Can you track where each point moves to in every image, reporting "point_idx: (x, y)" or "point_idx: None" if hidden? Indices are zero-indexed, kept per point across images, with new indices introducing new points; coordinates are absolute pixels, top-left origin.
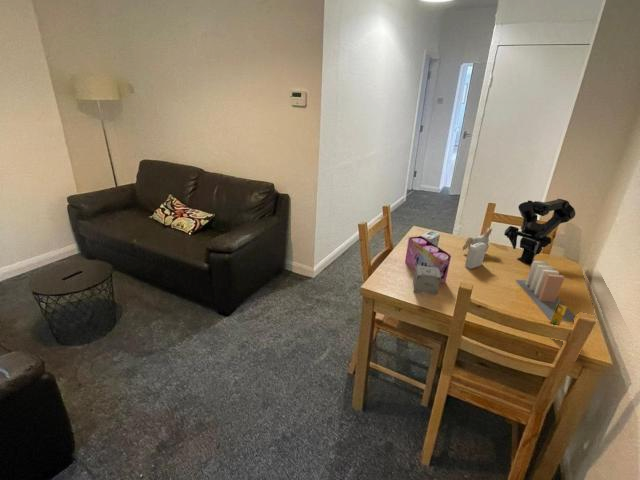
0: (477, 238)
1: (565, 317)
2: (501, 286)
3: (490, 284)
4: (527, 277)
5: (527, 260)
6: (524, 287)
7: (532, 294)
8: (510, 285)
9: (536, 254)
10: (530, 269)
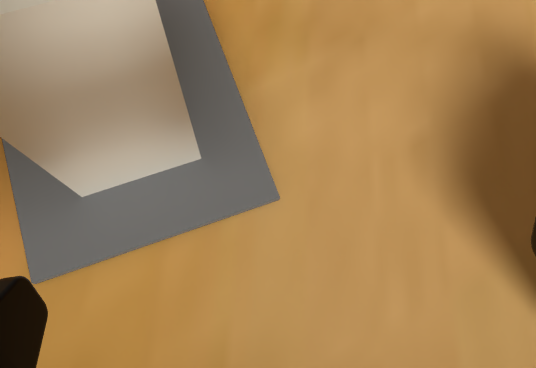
0: None
1: None
2: (380, 44)
3: (457, 37)
4: (191, 126)
5: None
6: (214, 88)
7: (168, 12)
8: (317, 90)
9: (2, 280)
10: (174, 67)
